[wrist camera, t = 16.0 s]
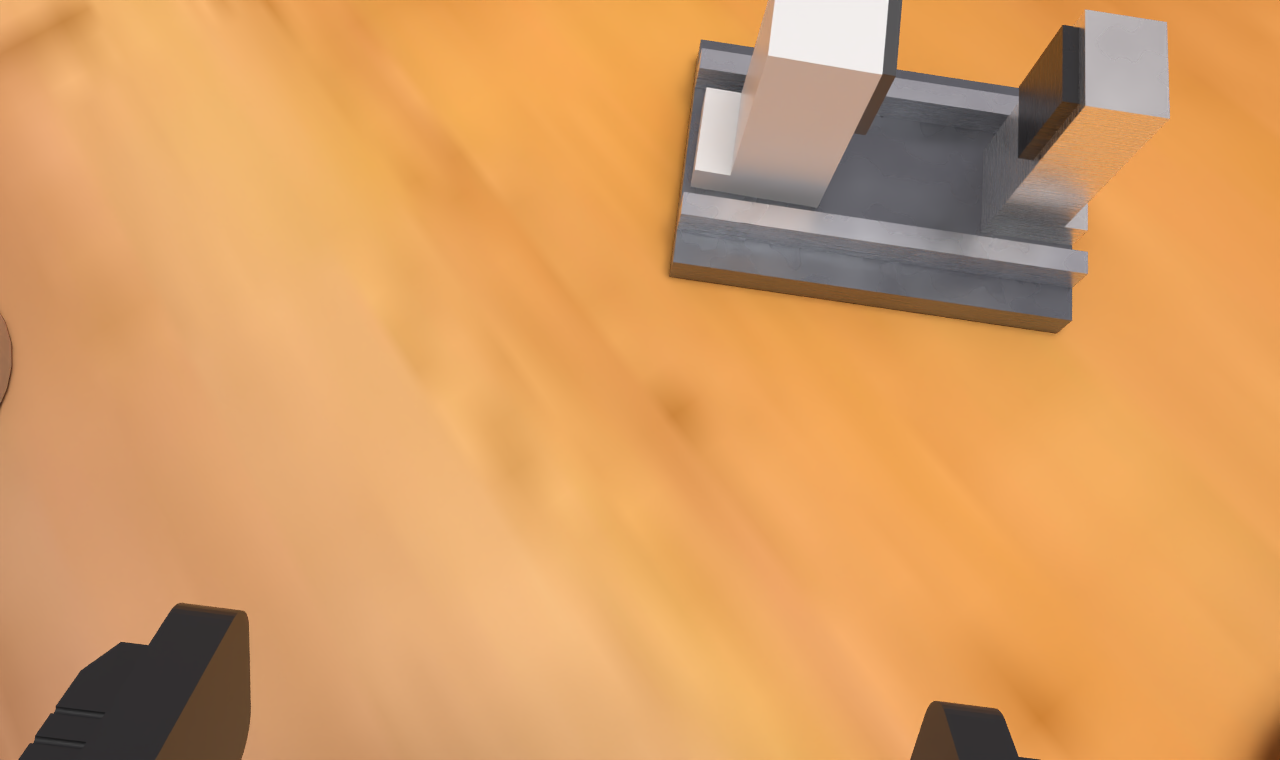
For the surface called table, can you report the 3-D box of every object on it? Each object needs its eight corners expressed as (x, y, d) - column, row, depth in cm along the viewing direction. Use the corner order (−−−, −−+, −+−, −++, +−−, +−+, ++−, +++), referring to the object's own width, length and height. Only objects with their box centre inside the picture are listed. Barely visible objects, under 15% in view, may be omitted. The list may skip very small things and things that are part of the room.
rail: (669, 276, 48) (704, 137, 38) (696, 59, 52) (735, -125, 41) (1056, 333, 49) (1201, 212, 38) (1058, 114, 53) (1190, -54, 42)
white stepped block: (690, 186, 48) (724, 48, 39) (702, 106, 50) (738, -47, 40) (830, 209, 48) (899, 77, 39) (838, 129, 50) (907, -19, 40)
